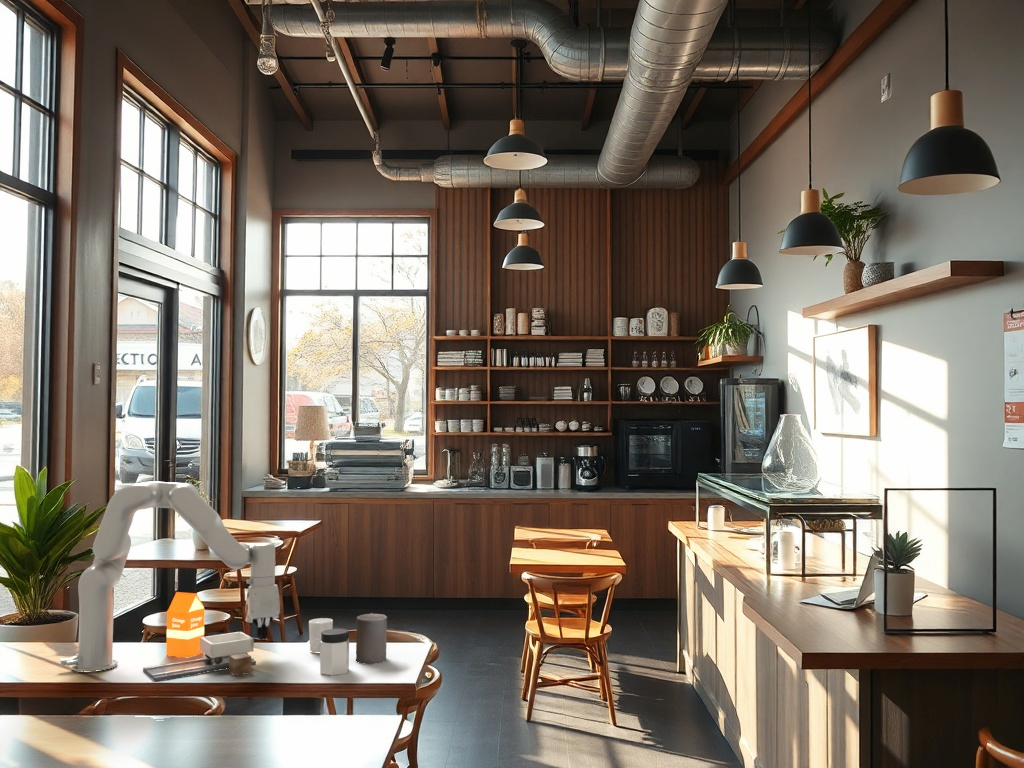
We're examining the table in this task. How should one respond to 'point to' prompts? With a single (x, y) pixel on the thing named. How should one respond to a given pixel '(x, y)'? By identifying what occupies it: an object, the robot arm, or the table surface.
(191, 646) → the orange juice
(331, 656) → the jar
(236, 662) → the walnut block
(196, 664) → the track
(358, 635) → the pillar candle
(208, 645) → the cart
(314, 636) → the white cup
